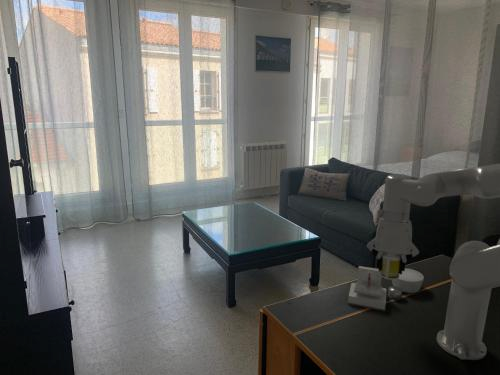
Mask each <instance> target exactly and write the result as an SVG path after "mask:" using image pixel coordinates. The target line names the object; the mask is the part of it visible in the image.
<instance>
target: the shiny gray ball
mask: <svg viewBox="0 0 500 375" xmlns="http://www.w3.org/2000/svg"><path fill="white" fill-rule="evenodd" d="M387 297H388V298H389V299H391V300H395V301H399V300H401V299H402V289H401V288H399V287H396V286H393V285H390V286H389V287H388V291H387Z"/></svg>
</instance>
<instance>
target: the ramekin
mask: <svg viewBox="0 0 500 375" xmlns="http://www.w3.org/2000/svg"><path fill="white" fill-rule="evenodd" d="M424 280H425V277H424V275H423V273H421V272H420V271H418V270H414V269H412V268H407V267H405V271H402V275H401V274H399V278H398V279H396V280H391V283H392V286H396V287H399V288H401V289H402V292H403V293H408V294H412V293H413V294H414V293H417V292H419V291H420V289H421V287H422V285H423V282H424Z"/></svg>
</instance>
